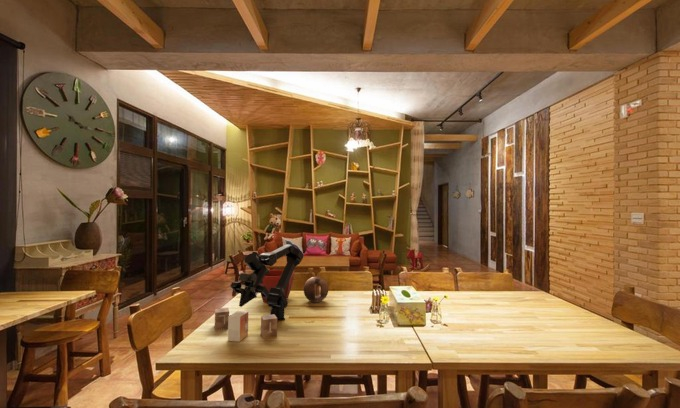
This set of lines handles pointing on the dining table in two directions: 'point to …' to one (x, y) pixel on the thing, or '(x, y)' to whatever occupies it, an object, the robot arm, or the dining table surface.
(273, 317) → the walnut block one
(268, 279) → the plant pot
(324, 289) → the wooden sphere
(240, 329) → the small box
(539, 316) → the dining table surface
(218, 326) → the walnut block seven
